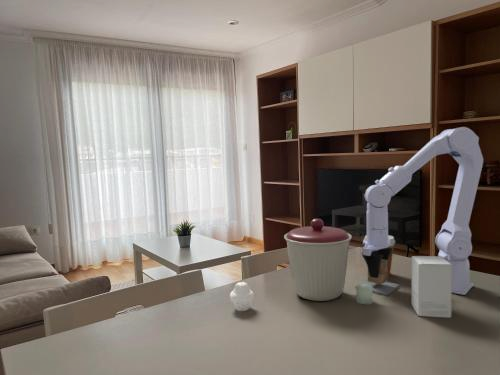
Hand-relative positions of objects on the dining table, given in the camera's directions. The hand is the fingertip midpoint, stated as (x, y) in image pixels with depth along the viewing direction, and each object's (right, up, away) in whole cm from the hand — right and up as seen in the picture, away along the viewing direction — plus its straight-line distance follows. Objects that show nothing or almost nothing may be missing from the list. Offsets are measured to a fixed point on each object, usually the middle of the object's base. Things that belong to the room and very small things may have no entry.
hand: (377, 274), depth 107 cm
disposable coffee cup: (+5, -3, +12) cm, 13 cm away
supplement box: (+7, -5, -16) cm, 19 cm away
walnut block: (0, -2, 0) cm, 2 cm away
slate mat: (0, -4, 0) cm, 4 cm away
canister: (-17, -5, -3) cm, 18 cm away
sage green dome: (-6, -5, -9) cm, 12 cm away
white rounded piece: (-38, -6, -11) cm, 40 cm away
